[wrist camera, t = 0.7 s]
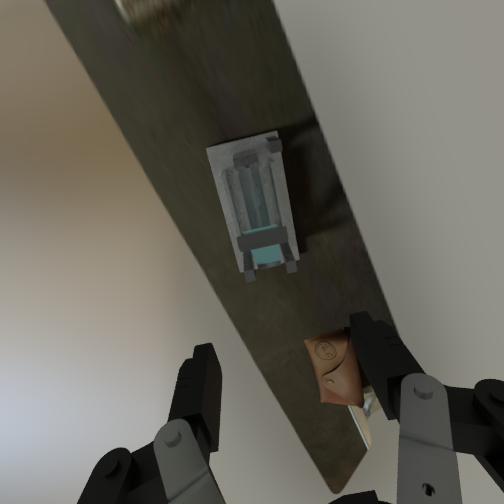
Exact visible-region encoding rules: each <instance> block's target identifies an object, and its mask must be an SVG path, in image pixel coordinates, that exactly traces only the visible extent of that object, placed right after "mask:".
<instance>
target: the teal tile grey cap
mask: <svg viewBox="0 0 504 504" xmlns="http://www.w3.org/2000/svg"><path fill="white" fill-rule="evenodd" d="M236 238H237V243H238V248H239V250H240V251H241V252H245V251H249V250H250V251H251V253H252V255H253V257H254V259H255V262H256V264H257V266H258V270H261V269H265V268H270V267H275V266H279V265H281V261H280V246H279V244H281V243H285V242H288V233H287V228H286V226H283V227H279V228H278V226H277V224H275V225H271V226H267V227H262V228H258V229H253V230H249V231H245V232H244V235H243V236H239V237H236Z"/></svg>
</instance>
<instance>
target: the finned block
mask: <svg viewBox="0 0 504 504" xmlns="http://www.w3.org/2000/svg"><path fill="white" fill-rule="evenodd" d="M206 151H207V154H208V158H209V162H210V165H211V169H212V172H213V176H214V180H215V183H216V187H217V190H218V194H219V198H220V201H221V205H222V208H223V212H224V216H225V219H226V223H227V226H228V230H229V234H230V237H231V241H232V244H233V248H234V252H235V255H236V259H237V262H238V266H239V270H240V272H244V274H245V278H246V282H251V281H256V275H255V269H258V266H257V264H256V262H255V259H254V257H253V255H252V253H251V251H250V250H249V251H245V252H241V251H240V250H239V248H238V243H237V238H236V237H239V236H243V235H244V232H245V231H249V230H253V229H258V228H262V227H267V226H271V225H275V224H277V226H278V228H279V227H283V226H286V228H287V233H288V242H285V243H281V244H279V246H280V261H281V263H285V266H286V269H287V273H293V272H297V267H296V261H295V260H300V259H299V253H298V247H297V241H296V236H295V230H294V224H293V219H292V213H291V207H290V201H289V196H288V190H287V184H286V178H285V173H284V167H283V161H282V155H281V151H283V149H282V143H281V139H280V138H278V132H277V131H276V130H275V131H271V132H267V133H263V134H259V135H255V136H250V137H246V138H242V139H238V140H234V141H230V142H226V143H222V144H218V145H214V146H210V147H207V148H206Z"/></svg>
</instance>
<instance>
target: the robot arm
mask: <svg viewBox="0 0 504 504" xmlns="http://www.w3.org/2000/svg"><path fill="white" fill-rule="evenodd" d="M349 321H350V331H351V340H352V345H353V348H354V351H355V354H356V356H357V358H358V360H359V362H360V364H361V366H362V368H363V370H364V372H365V374H366V376H367V378H368V380H369V382H370V384H371V386H372V388H373V390H374V392H375V394H376V396H377V398H378V400H379V402H380V404H381V406H382V408H383V410H384V412H385V415H386V417H387V419H388V420H393V419H397V420H398V422H399V424H400V435H399V450H398V451H399V452H398V479H397V504H462V497H461V489H460V480H459V471H458V463H457V456H456V452H460V453H467V454H472V455H474V456H475V457H476V459H477V460H478V461H479V462H480V464H481V465H482V466H483V467H484V469H485V470H486V471H487V472H488V474H489V475H490V476H491V477H492V479H493V480H494V481H495V482H496V484H497V485H498V486H499V487H500V489H501V490H502V491H503V492H504V381H501V380H496V379H484V380H481V381H479V382H478V383H477V384H476V385H475V387H474V389H469V388H459V387H450V386H446V385H443V384H441V382H439V381H438V380H437V379H435V378H434V377H432V376H429V375H427V374H426V373H425V372H424V371H423V369H422V368H421V367H420V365H419V364H418V362H417V361H416V360H415V358H414V357H413V356H412V354H411V353H410V351H409V350H408V349H407V347H406V346H405V345H404V344H403V342H402V340H401V339H400V337H398V335H397V333H396V332H395V331H394V329H393V328H392V327H391V326H390V325H388V324H387V323H385V322H384V321H382V320H379V321H373V320H372V318H371V317H370V315H369V314H368V312H367V311H363V312H358V313H354V314H350V315H349ZM221 393H222V371H221V366H220V363H219V361H218V358H217V355H216V353H215V350H214V347H213V345H212V343H206V344H201V345H196V346H195V348H194V353H193V358H190V359H186V360H185V361H184V363H183V364H182V366H181V367H180V369H179V373H178V378H177V382H176V386H175V391H174V395H173V399H172V404H171V408H170V413H169V417H168V421H167V423H166V424H165V425H164V426H163V427H162V428H161V429H160V430H159V431H158V433H157V435H156V436H155V439H154V441H152V442H151V443H149V444H148V445H146V446H144V447H142V448H140V449H138V450H136V451H134V452H132V453H130V451H129V450H128V449H126V448H116V449H113V450H111V451H110V452H108V453H107V454H106V455H104V456H103V457H102V458H101V459H100V460H99V461H98V463H97V464H96V466H95V468H94V469H93V471H92V473H91V475H90V477H89V480H88V482H87V484H86V486H85V488H84V490H83V492H82V494H81V496H80V498H79V500H78V502H77V504H226V503H225V500H224V498H223V496H222V494H221V491H220V489H219V487H218V484H217V482H216V480H215V477H214V475H213V473H212V471H211V468H210V466H209V459H210V453H211V452H216V451H218V446H219V429H220V411H221V409H220V408H221ZM329 504H391V503H388V502H384V501H378V498H377V495H376V492H375V490H372V491H366V492H361V493H355V494H349V495H344V496H342V497H340V498H338V499H336V500H334V501H332V502H330V503H329Z"/></svg>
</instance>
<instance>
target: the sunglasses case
mask: <svg viewBox="0 0 504 504" xmlns="http://www.w3.org/2000/svg"><path fill="white" fill-rule="evenodd" d="M304 343H305V346H306V348H307V351H308V353H309V356H310V358H311V361H312V364H313V368H314V371H315V375H316V379H317V383H318V387H319V392H320V400H321V403H325V402H328V403H335V404H344V405H351V406H358V407H359V408H363V406H364V395H363V388H362V383H361V378H360V372H359V367H358V362H357V357H356V354H355V351H354V348H353V345H352V340H351V332H350V331H349V330H348V329H346V328H343V329H339V330H335V331H332V332H329V333H325V334H322V335H319V336H316V337H313V338H310V339H308V340H304Z"/></svg>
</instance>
